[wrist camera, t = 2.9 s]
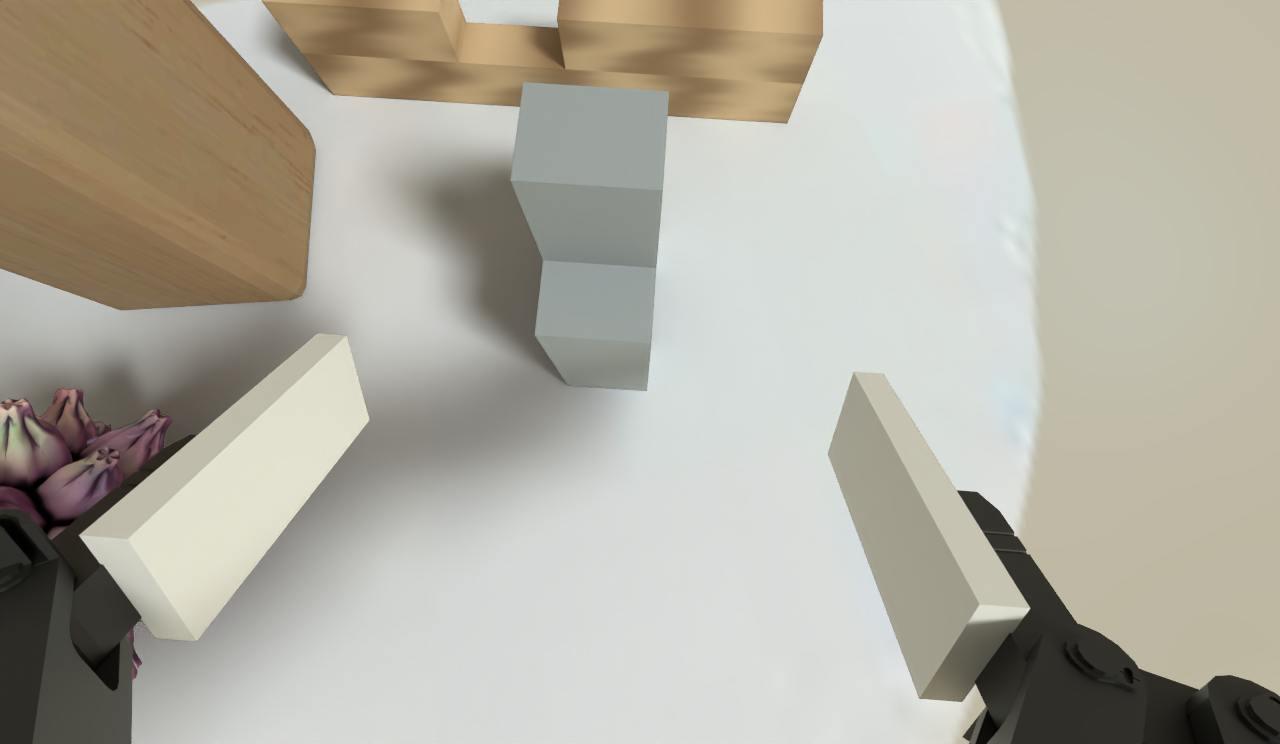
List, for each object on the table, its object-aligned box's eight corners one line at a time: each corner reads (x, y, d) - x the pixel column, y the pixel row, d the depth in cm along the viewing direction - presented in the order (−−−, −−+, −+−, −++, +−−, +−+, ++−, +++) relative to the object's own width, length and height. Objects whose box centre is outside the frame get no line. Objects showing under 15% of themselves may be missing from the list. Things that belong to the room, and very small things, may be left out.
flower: (356, 494, 26) (128, 496, 14) (181, 727, 24) (-256, 953, 12) (179, 366, 27) (-161, 274, 16) (-2, 576, 25) (-557, 650, 13)
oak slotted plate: (333, 94, 31) (261, 1, 25) (341, 57, 31) (273, -43, 25) (787, 123, 30) (823, 35, 25) (787, 85, 31) (822, -10, 25)
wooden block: (144, 147, 30) (-778, -496, 10) (325, 137, 30) (-250, -513, 11) (119, 317, 28) (-1104, -90, 8) (313, 305, 28) (-435, -121, 8)
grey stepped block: (646, 390, 27) (655, 289, 13) (567, 385, 27) (497, 278, 13) (657, 236, 29) (674, 8, 15) (582, 231, 29) (534, -1, 15)
